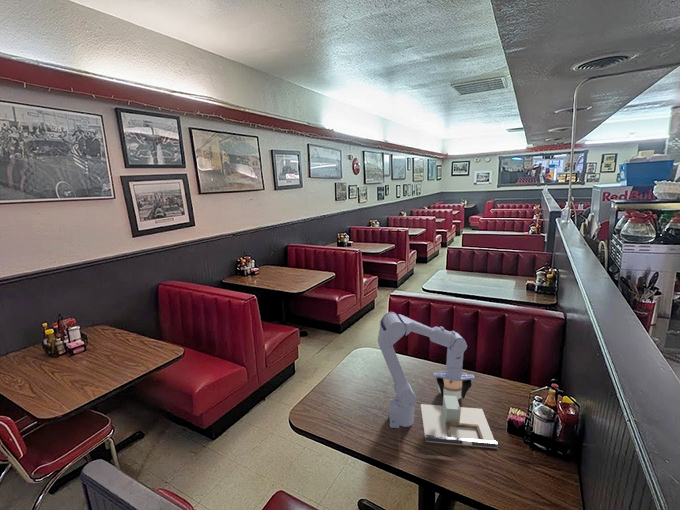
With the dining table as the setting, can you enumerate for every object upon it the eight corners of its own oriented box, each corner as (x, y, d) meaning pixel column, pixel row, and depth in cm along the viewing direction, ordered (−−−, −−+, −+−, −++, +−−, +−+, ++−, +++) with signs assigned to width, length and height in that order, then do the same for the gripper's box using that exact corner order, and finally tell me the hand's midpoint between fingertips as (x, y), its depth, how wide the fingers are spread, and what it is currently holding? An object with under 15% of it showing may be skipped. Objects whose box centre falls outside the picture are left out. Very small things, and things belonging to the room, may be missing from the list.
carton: (445, 422, 126) (446, 408, 125) (442, 408, 134) (443, 395, 132) (460, 423, 125) (461, 409, 124) (456, 409, 133) (457, 396, 132)
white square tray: (425, 443, 117) (425, 437, 117) (420, 405, 137) (420, 400, 136) (497, 450, 114) (498, 444, 114) (481, 410, 133) (482, 405, 133)
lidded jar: (458, 409, 134) (460, 388, 132) (433, 399, 141) (434, 379, 138) (467, 395, 143) (468, 376, 140) (442, 386, 149) (443, 367, 147)
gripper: (472, 359, 127) (469, 391, 131) (433, 357, 130) (431, 388, 133) (476, 370, 121) (473, 402, 124) (435, 367, 123) (433, 399, 126)
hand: (452, 396), depth 128 cm, fingers open, 7 cm apart
